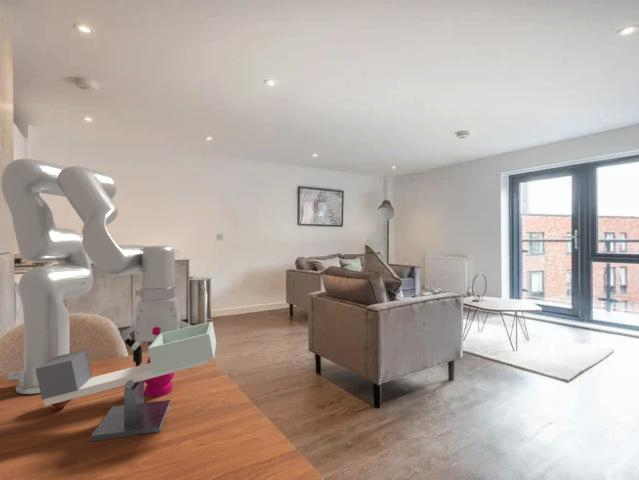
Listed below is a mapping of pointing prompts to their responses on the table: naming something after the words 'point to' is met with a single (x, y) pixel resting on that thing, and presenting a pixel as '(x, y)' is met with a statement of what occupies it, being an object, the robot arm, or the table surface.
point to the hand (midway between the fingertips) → (159, 362)
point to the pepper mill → (158, 379)
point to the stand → (132, 416)
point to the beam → (165, 356)
